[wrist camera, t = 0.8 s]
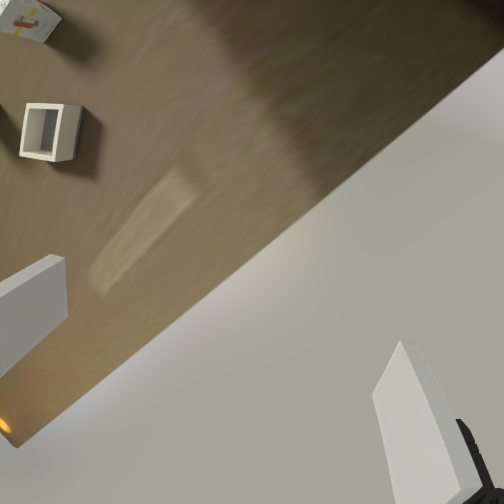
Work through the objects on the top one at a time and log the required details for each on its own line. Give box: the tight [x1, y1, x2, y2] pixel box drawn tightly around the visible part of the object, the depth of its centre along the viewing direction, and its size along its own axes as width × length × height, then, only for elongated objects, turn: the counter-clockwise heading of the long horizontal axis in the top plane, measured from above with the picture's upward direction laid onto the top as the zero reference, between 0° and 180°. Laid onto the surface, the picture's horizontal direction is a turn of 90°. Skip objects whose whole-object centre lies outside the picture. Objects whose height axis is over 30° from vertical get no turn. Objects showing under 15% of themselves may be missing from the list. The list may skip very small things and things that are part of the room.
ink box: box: [0, 0, 62, 43], centre depth 26 cm, size 9×5×12 cm, turn 44°
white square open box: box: [19, 103, 84, 162], centre depth 35 cm, size 7×7×4 cm
